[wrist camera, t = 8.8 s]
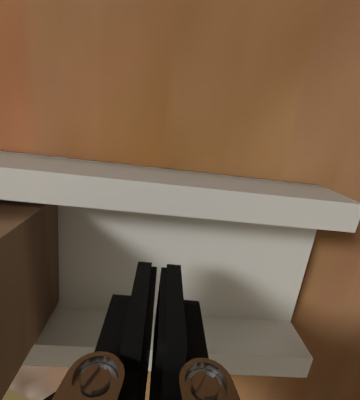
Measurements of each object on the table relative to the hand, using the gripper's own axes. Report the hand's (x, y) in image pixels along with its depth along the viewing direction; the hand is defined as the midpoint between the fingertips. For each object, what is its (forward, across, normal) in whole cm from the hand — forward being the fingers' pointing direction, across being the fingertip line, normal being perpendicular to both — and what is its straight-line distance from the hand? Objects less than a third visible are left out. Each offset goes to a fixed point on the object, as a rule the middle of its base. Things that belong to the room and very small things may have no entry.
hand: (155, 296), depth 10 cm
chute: (+4, +2, 0) cm, 4 cm away
